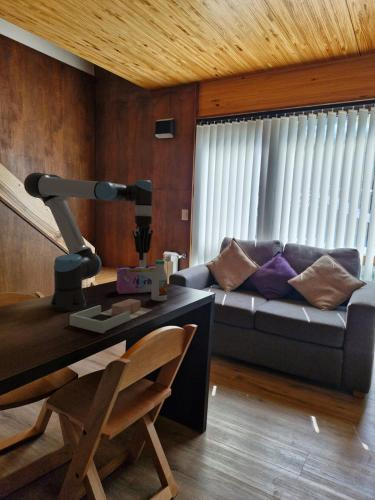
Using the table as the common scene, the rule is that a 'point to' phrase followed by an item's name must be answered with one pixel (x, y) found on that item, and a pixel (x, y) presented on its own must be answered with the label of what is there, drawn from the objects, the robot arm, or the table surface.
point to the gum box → (134, 279)
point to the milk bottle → (159, 282)
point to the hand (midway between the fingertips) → (142, 266)
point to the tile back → (134, 304)
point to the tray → (85, 321)
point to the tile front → (121, 308)
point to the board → (132, 315)
